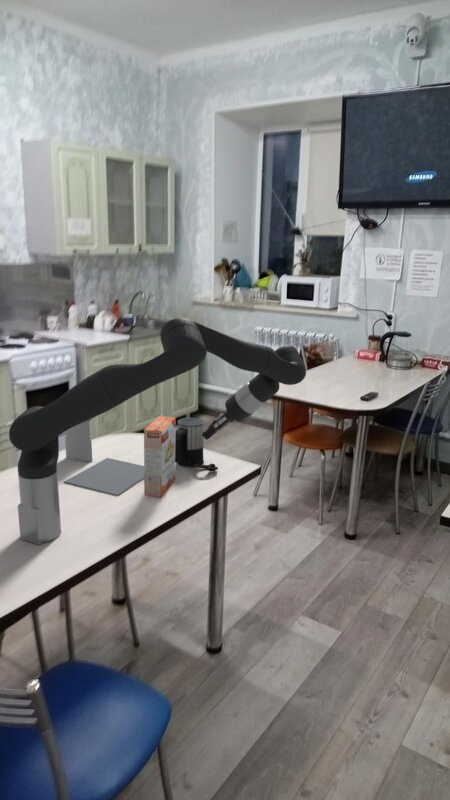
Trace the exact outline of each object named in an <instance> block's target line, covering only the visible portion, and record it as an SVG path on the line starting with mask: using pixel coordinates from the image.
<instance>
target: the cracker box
mask: <svg viewBox="0 0 450 800" xmlns="http://www.w3.org/2000/svg"><path fill="white" fill-rule="evenodd" d="M176 420H177V418H176V417H172V416H162V415H160V416H159V415H158V417H156V418H155V419H154V420H153V421H152V422H151V423H150V424H148V426H147V427H146V428H144V430H143V456H144V457H143V458H144V459H143V463H144V464H143V466H144V479H143V481H144V482H143V486H144V487H143V490H144V491H143V493H144V494H143V495H144V496H146V497H155V498H163V496H164V495H165V494H166V492H167V491H168V489H169V488H170V487H171V485H172V484H173V483H174V481H175V479H176V463H175V435H176V430H177V429H176V426H177V425H176V424H177V423H176Z"/></svg>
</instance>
